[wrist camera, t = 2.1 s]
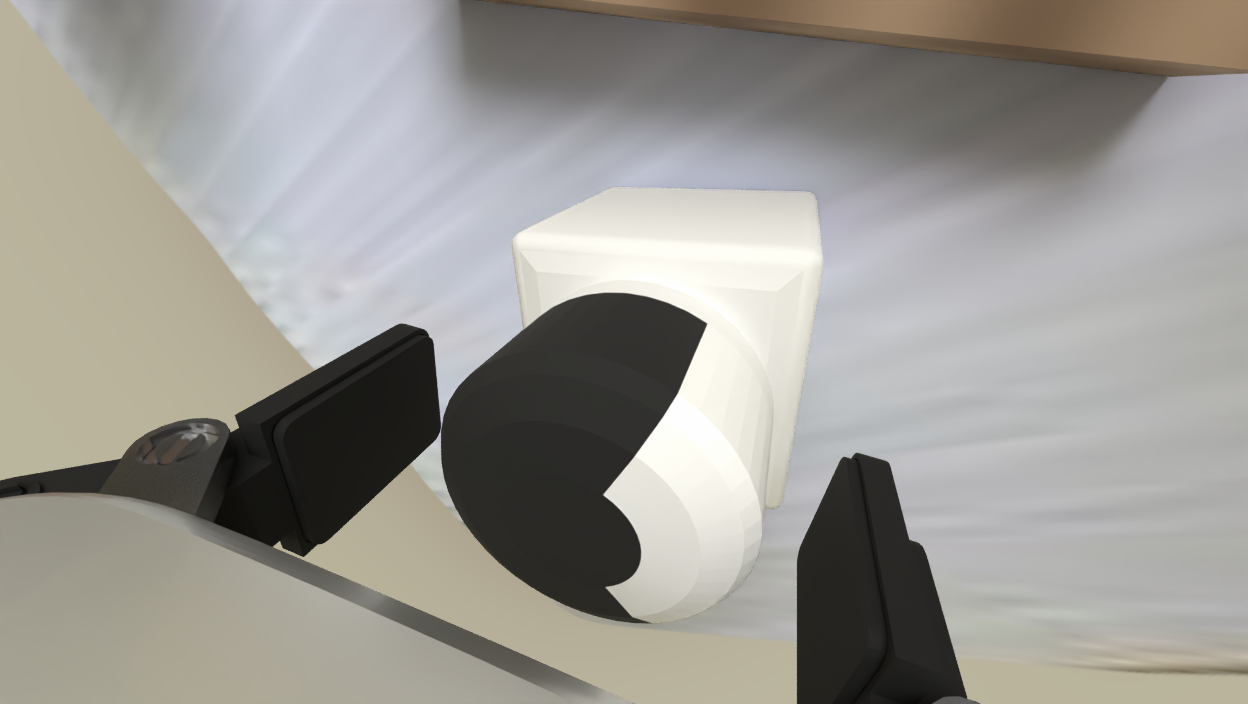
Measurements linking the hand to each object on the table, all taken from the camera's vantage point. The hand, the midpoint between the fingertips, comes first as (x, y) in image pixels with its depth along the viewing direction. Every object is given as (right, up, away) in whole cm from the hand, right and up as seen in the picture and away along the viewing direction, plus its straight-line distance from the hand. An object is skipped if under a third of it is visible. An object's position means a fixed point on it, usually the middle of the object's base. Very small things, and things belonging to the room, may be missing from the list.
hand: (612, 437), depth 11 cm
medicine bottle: (+3, +4, +7) cm, 9 cm away
